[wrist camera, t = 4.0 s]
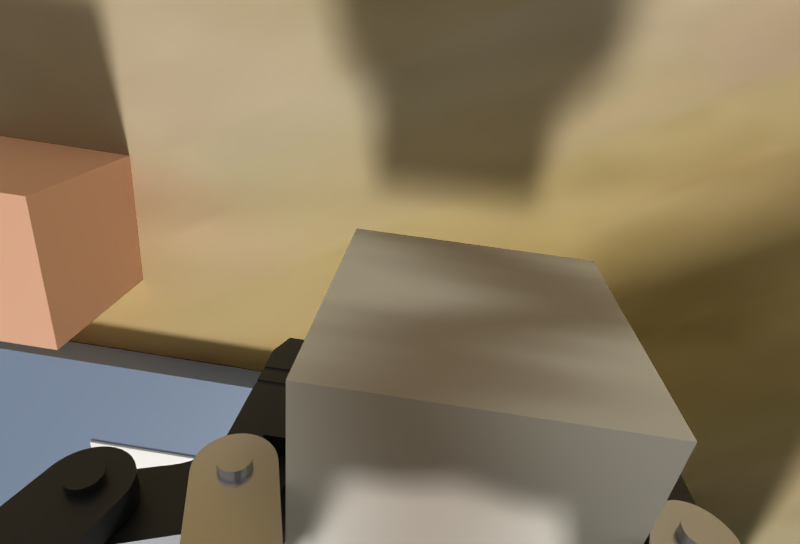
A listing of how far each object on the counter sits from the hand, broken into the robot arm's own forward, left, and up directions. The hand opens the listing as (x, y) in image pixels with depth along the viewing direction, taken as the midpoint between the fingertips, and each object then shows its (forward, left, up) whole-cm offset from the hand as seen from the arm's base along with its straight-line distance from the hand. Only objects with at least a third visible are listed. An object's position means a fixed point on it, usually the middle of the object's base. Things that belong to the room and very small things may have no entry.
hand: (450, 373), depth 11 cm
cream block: (0, 0, -1) cm, 1 cm away
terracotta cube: (+13, 0, -6) cm, 14 cm away
